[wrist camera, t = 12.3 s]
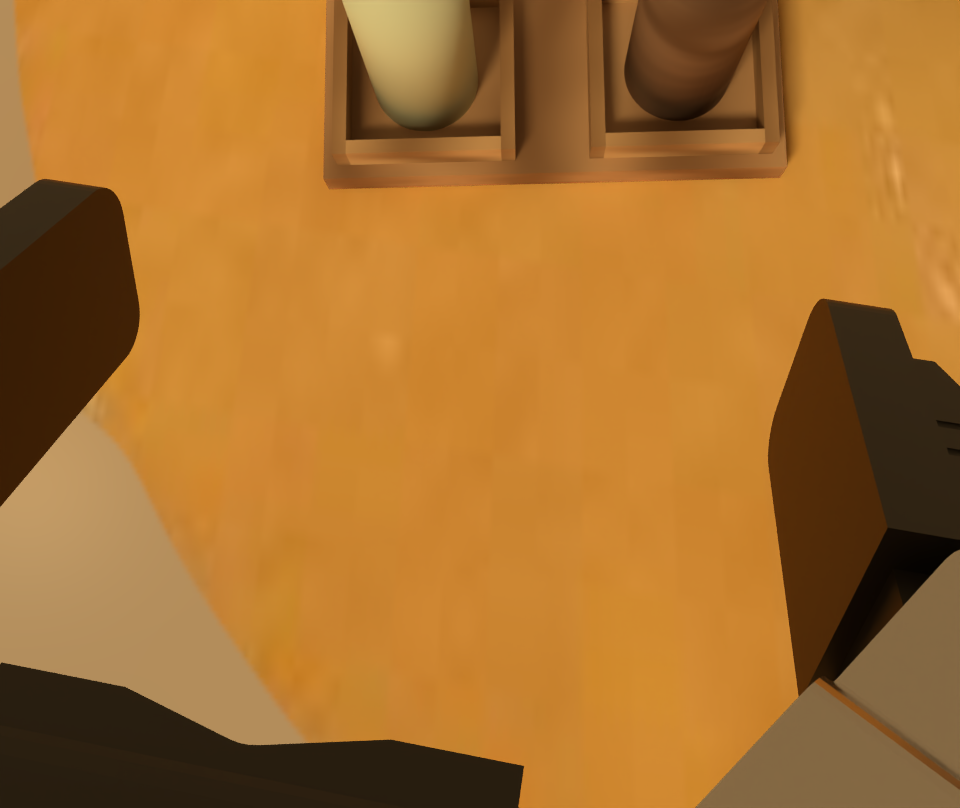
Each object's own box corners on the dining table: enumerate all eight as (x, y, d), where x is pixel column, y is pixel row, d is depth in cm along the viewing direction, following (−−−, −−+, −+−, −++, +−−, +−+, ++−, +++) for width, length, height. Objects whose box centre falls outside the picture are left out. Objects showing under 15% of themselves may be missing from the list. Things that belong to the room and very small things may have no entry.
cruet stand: (768, -12, 41) (783, -45, 39) (779, 177, 40) (795, 155, 38) (332, 3, 42) (321, -28, 40) (329, 188, 41) (317, 167, 39)
